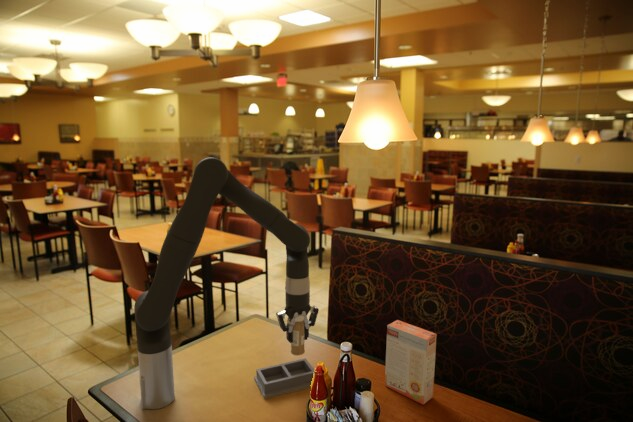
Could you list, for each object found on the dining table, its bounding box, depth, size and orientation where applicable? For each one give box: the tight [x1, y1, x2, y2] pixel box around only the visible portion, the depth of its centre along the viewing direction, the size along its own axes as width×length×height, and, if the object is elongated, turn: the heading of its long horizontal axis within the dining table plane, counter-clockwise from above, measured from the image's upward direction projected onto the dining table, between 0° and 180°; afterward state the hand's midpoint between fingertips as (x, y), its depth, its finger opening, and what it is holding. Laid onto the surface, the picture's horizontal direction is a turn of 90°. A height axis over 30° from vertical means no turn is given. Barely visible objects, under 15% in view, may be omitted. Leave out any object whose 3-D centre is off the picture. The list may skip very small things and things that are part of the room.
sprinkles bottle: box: [290, 314, 306, 356], centre depth 133 cm, size 5×5×13 cm
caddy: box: [253, 358, 315, 400], centre depth 134 cm, size 18×11×4 cm, turn 114°
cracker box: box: [384, 319, 438, 406], centre depth 128 cm, size 14×6×21 cm, turn 45°
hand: (297, 340), depth 133 cm, fingers closed on sprinkles bottle, 4 cm apart
